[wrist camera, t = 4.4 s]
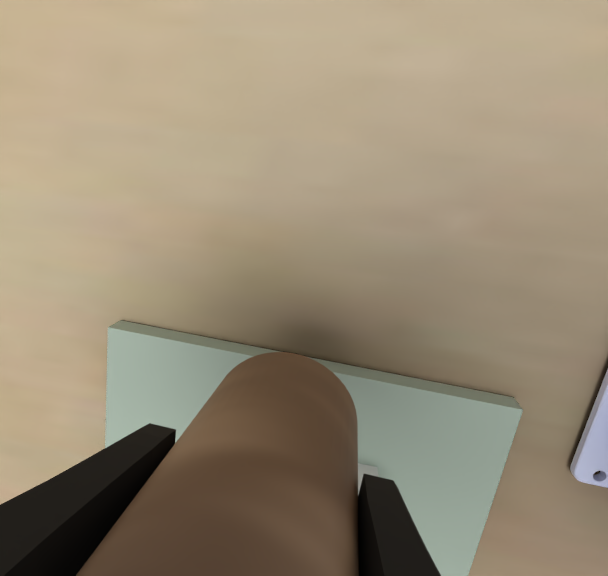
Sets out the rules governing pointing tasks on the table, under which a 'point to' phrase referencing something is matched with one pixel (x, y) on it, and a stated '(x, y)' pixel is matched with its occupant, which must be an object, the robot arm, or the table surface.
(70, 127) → the table surface
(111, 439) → the socket board
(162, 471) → the walnut peg
